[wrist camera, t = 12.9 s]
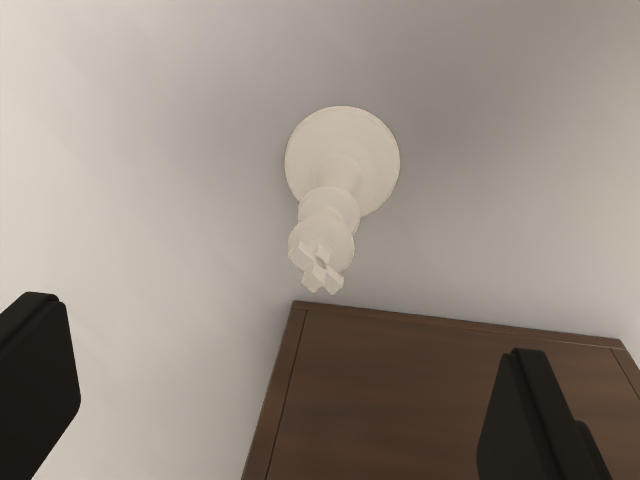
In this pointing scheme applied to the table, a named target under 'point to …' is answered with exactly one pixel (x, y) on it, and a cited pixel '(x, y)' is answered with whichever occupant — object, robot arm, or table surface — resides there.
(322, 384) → the chest
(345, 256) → the chess piece
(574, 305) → the table surface
